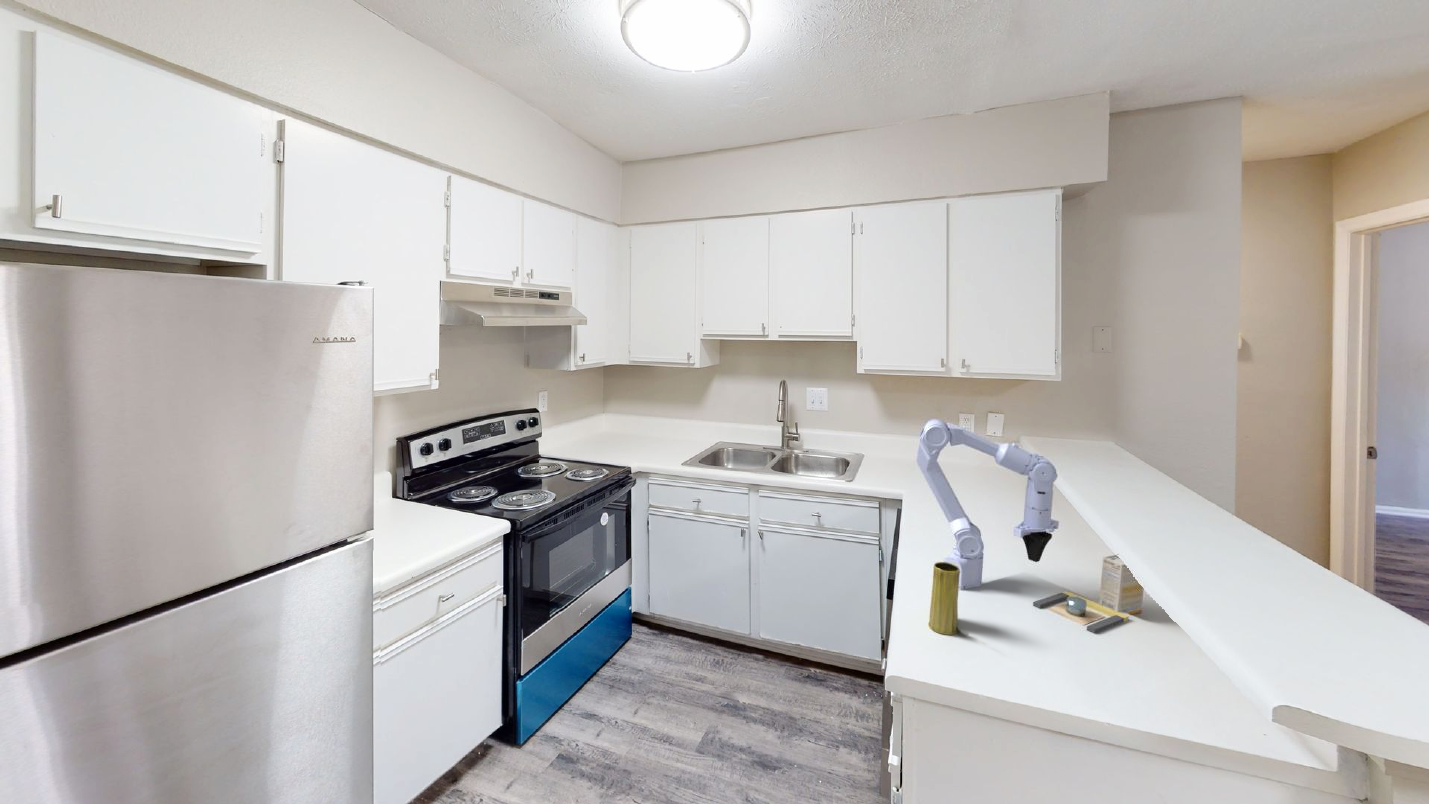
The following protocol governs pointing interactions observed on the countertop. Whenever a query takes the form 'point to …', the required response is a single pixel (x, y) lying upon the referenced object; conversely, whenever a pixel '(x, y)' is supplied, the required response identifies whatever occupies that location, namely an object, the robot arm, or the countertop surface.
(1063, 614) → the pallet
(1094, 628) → the frame
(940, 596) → the vase
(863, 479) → the countertop surface
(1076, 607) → the steel cylinder puck
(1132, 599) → the supplement box
